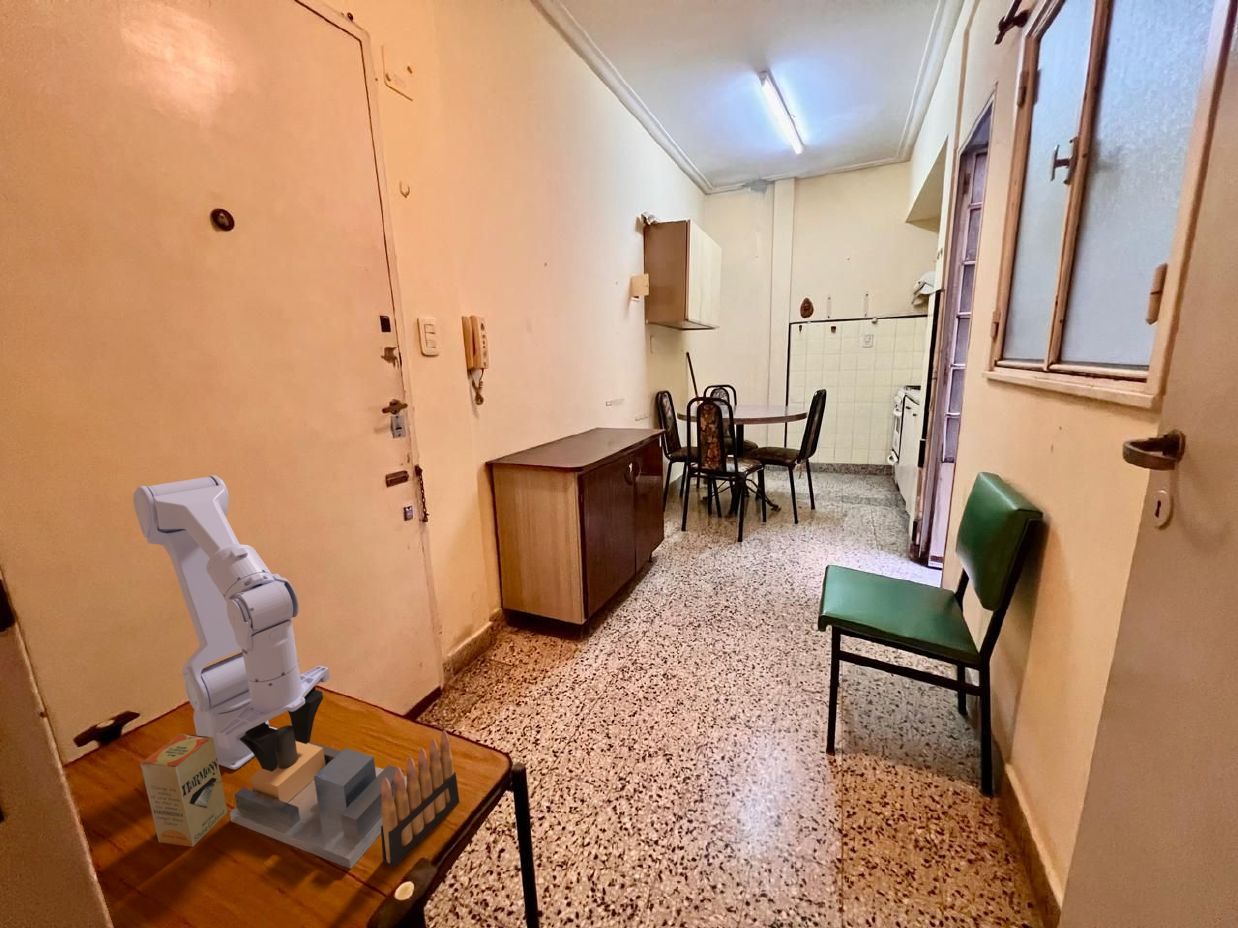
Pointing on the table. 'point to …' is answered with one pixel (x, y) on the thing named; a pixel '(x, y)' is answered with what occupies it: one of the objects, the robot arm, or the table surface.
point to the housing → (343, 781)
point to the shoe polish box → (184, 789)
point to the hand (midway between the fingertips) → (286, 753)
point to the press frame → (317, 818)
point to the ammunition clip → (417, 801)
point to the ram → (289, 767)
